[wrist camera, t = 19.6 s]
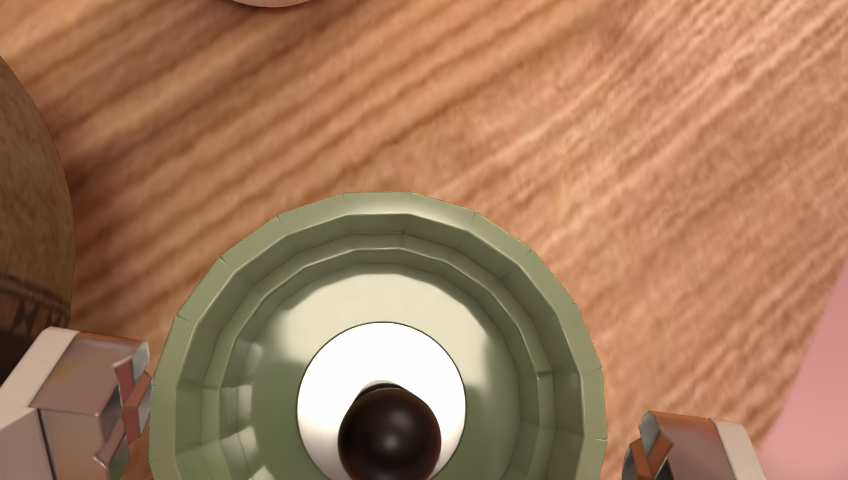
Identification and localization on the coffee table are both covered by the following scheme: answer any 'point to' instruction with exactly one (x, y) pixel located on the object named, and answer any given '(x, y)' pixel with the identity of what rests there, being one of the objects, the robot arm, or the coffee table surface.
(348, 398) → the meat pounder
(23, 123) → the vase
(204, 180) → the coffee table surface
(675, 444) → the robot arm
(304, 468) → the bowl
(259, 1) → the cup
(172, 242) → the coffee table surface
